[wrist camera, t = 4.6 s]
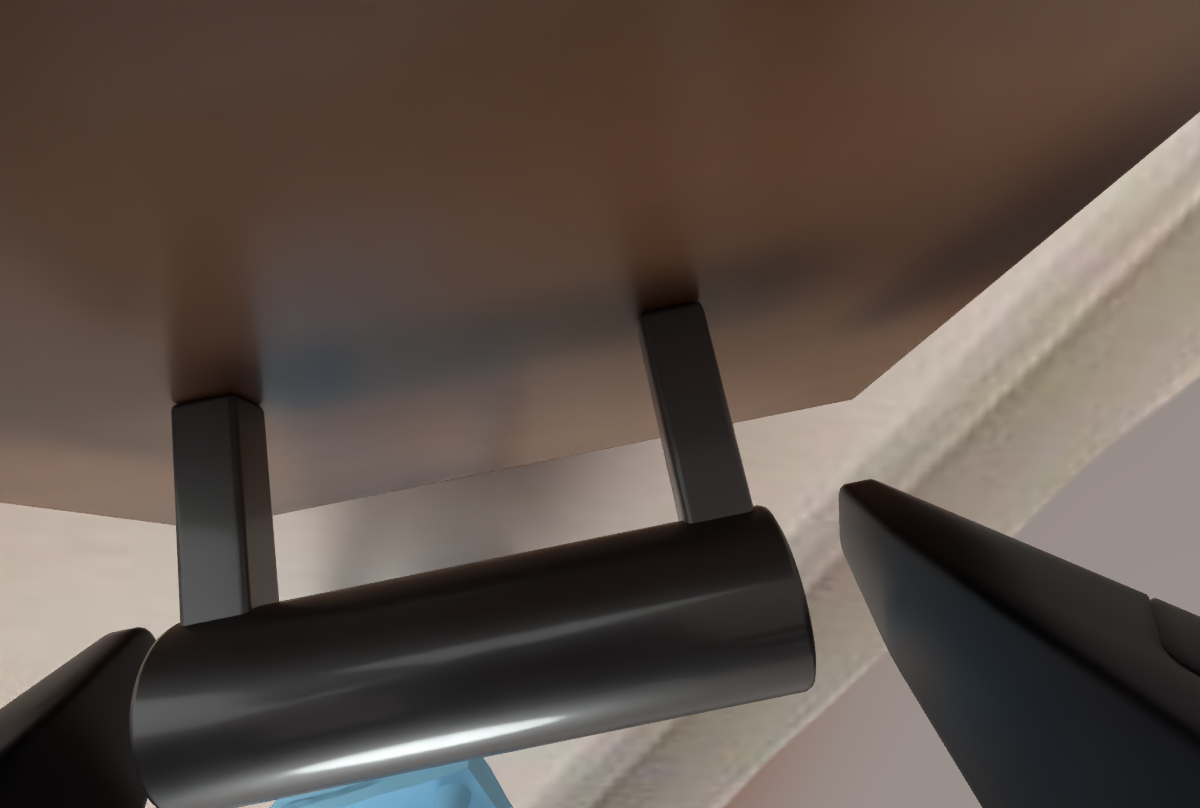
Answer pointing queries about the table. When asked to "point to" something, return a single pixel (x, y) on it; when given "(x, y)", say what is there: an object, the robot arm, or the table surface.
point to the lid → (501, 318)
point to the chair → (413, 790)
